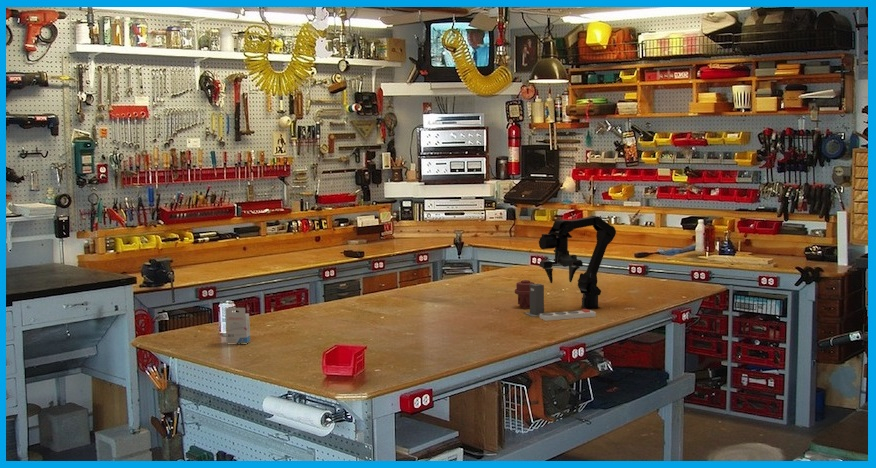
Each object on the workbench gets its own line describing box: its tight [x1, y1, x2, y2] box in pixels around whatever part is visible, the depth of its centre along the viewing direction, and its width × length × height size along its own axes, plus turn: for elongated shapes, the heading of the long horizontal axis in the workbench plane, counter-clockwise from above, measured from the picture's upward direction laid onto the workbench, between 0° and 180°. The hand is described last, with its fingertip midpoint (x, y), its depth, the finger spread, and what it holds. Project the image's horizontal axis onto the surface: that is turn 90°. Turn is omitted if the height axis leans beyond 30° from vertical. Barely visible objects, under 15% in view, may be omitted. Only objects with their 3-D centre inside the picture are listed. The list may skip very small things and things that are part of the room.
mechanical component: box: [514, 279, 536, 310], centre depth 473 cm, size 12×10×10 cm
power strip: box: [539, 308, 597, 322], centre depth 448 cm, size 24×6×3 cm, turn 107°
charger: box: [529, 283, 545, 315], centre depth 455 cm, size 5×4×13 cm
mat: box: [524, 311, 540, 318], centre depth 456 cm, size 8×8×1 cm
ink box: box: [225, 307, 251, 344], centre depth 406 cm, size 8×5×15 cm, turn 83°
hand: (560, 282), depth 461 cm, fingers open, 9 cm apart
